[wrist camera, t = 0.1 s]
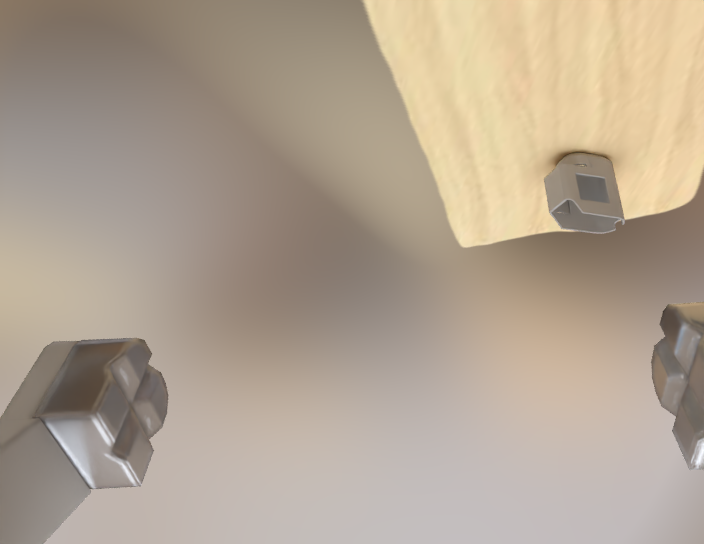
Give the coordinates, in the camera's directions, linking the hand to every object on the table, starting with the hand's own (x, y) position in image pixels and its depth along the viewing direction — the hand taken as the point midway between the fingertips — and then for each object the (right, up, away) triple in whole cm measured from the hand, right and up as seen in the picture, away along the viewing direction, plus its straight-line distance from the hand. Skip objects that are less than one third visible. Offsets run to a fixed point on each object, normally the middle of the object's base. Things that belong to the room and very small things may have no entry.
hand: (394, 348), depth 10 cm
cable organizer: (+37, +20, +93) cm, 102 cm away
